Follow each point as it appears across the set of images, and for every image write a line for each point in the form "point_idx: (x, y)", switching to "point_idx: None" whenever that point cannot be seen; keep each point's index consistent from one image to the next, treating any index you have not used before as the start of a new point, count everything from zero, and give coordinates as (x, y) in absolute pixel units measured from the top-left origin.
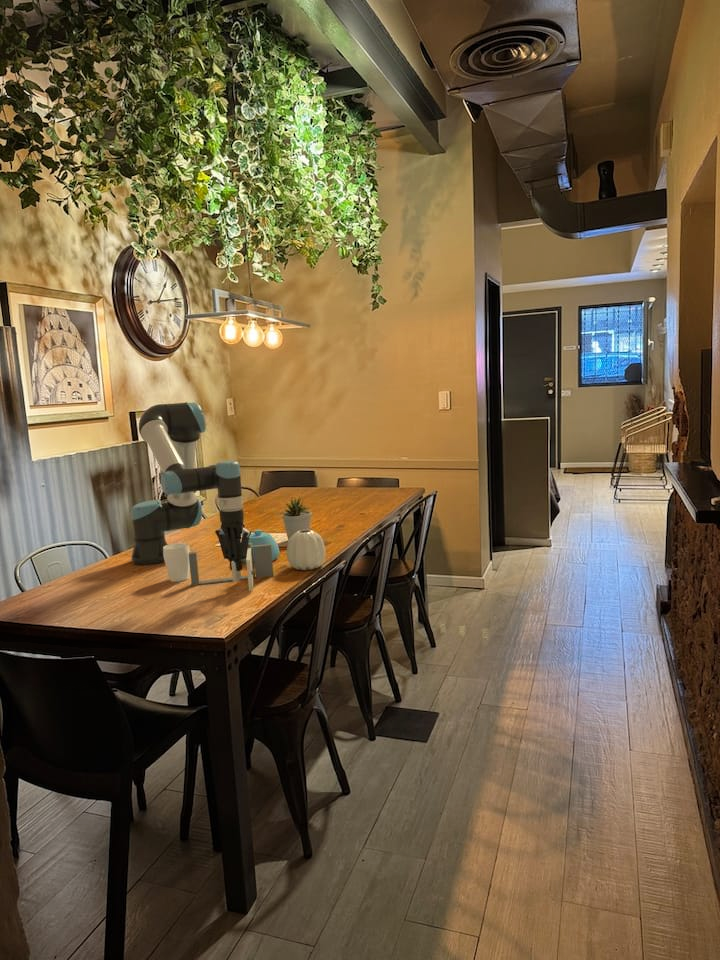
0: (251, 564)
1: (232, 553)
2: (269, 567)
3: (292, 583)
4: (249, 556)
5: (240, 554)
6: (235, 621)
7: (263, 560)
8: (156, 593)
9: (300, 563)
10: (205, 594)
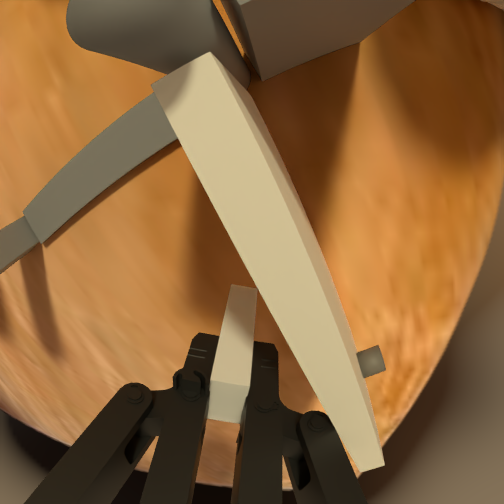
0: (332, 292)
1: (197, 459)
2: (358, 32)
3: (489, 187)
4: (367, 434)
5: (300, 480)
6: None
7: (335, 28)
8: (12, 323)
9: (498, 1)
10: (147, 346)
